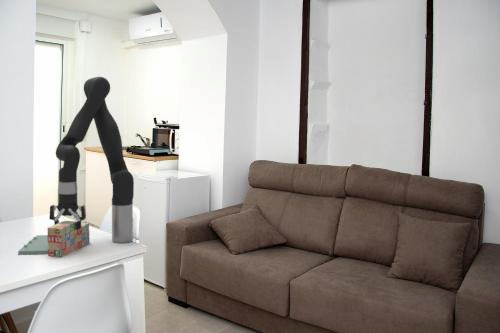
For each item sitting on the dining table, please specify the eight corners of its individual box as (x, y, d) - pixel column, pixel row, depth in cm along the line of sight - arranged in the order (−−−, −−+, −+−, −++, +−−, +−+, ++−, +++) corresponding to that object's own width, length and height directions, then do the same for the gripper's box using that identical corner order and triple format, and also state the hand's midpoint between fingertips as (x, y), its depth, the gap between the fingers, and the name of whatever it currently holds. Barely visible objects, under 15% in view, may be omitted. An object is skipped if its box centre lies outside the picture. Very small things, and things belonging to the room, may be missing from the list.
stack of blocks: (77, 242, 203) (76, 215, 201) (89, 243, 202) (89, 216, 200) (47, 256, 182) (47, 227, 180) (61, 257, 181) (61, 228, 179)
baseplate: (64, 238, 208) (64, 233, 207) (49, 254, 184) (49, 248, 184) (37, 238, 206) (36, 233, 206) (18, 254, 182) (18, 249, 182)
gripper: (87, 190, 193) (87, 227, 195) (52, 190, 191) (53, 227, 193) (83, 193, 186) (83, 231, 187) (47, 193, 184) (47, 231, 185)
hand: (67, 229), depth 190 cm, fingers open, 8 cm apart
